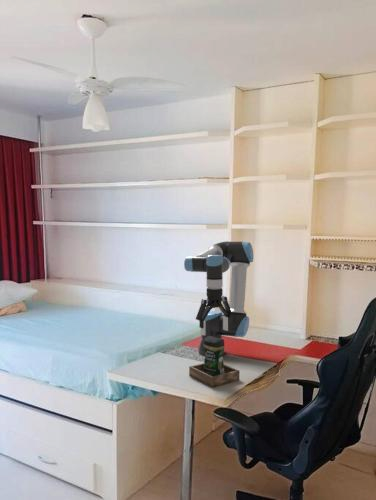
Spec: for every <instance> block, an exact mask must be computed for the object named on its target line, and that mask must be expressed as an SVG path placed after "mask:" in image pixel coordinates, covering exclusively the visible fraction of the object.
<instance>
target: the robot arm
mask: <svg viewBox="0 0 376 500" xmlns="http://www.w3.org/2000/svg"><path fill="white" fill-rule="evenodd" d="M253 262H254V248H253V245H252V243H251V242H250V241H243V240H242V241H229V240H228V241H227V240H226V241H221V242H217V243H215V244H214V243H213V244H212V245H211V246H209V247H208V248H207V250H205V251H203V252H201V253H200V254H197V255H196V256H186V257H185V259H184V263H183V267H184V270H185V271H186V272H191V273H192V272H193V273H206V297H207V298H206V299H204V298H202V299H201V302H200V305H199V308H198V311H197V313H196V316H195V320H197V321H199V328H200V336H201V337H200V341H199V346H198V348H197V349H198V352H197V353H198V354H199V355H202V356H205V349H204V339H205V337H208V336H212V337H216V338H221V339H223V337H222V336H225V337H235V338H244V337H246V335H247V333H248V330H249V326H250V318H249V316H247V312H246V311H245V299H246V287H247V285H246V284H247V273H248V272H247V271H248V268H249V267H250V265H251V263H253ZM230 267H231V276H230V288H229V302H228V297H227V296H224V295H223V287H224V285H223V281H224V280H223V278H224V277H223V274H224V273H225V272H227V271H228V270H229V269H230ZM215 308H218V309H219V310H212V309H215ZM225 349H226V348H225V347H224V350H223V355H224V354H225V352H226V350H225Z"/></svg>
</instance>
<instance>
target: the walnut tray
mask: <svg viewBox="0 0 376 500" xmlns="http://www.w3.org/2000/svg"><path fill="white" fill-rule="evenodd" d="M188 368H189V370H188V371H189V372H188V373H189V374H188V375H189V376H188V377H191V378H193V379H195V380H197V381H199V382H201V383H202V384H204V385H206V386H208V387H210V388H212V389H213V388H217V387H221V386H223V385H227V384H231V383H235V382H238V381H240V370H239V369H237V368H235V367H233V366H230V365H228V364H225V363H224V374H221V375H218V376H214V377H213V376H211V375H208V374H206V373H204V372H203V371H204V362H203V363H198V364H194V365H190V366H189V367H188Z"/></svg>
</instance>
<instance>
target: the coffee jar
mask: <svg viewBox="0 0 376 500" xmlns="http://www.w3.org/2000/svg"><path fill="white" fill-rule="evenodd" d="M225 345H226V344H225V340H224V339H223V338H222V339H221V338H216V337H212V336H208V337H205V339H204V349H205V355H204V361H203V363H204V371H203V372H204V373H206V374H208V375H211V376H213V377H214V376H218V375H221V374H224V364H225V363H224V354H223V350H224V348H225Z"/></svg>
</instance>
